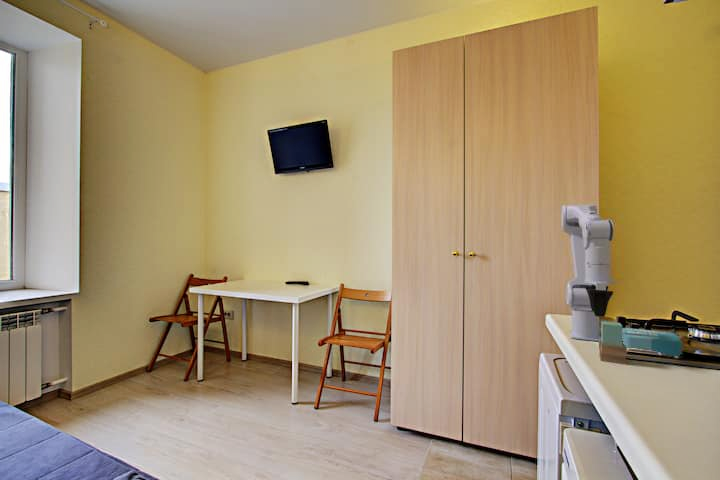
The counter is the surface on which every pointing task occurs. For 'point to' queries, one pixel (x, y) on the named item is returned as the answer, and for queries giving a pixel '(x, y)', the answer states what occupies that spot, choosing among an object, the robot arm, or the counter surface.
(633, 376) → the counter surface
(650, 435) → the counter surface
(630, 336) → the data package
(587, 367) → the counter surface
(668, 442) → the counter surface
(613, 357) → the walnut slab lower
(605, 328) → the teal block
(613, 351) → the walnut slab upper
